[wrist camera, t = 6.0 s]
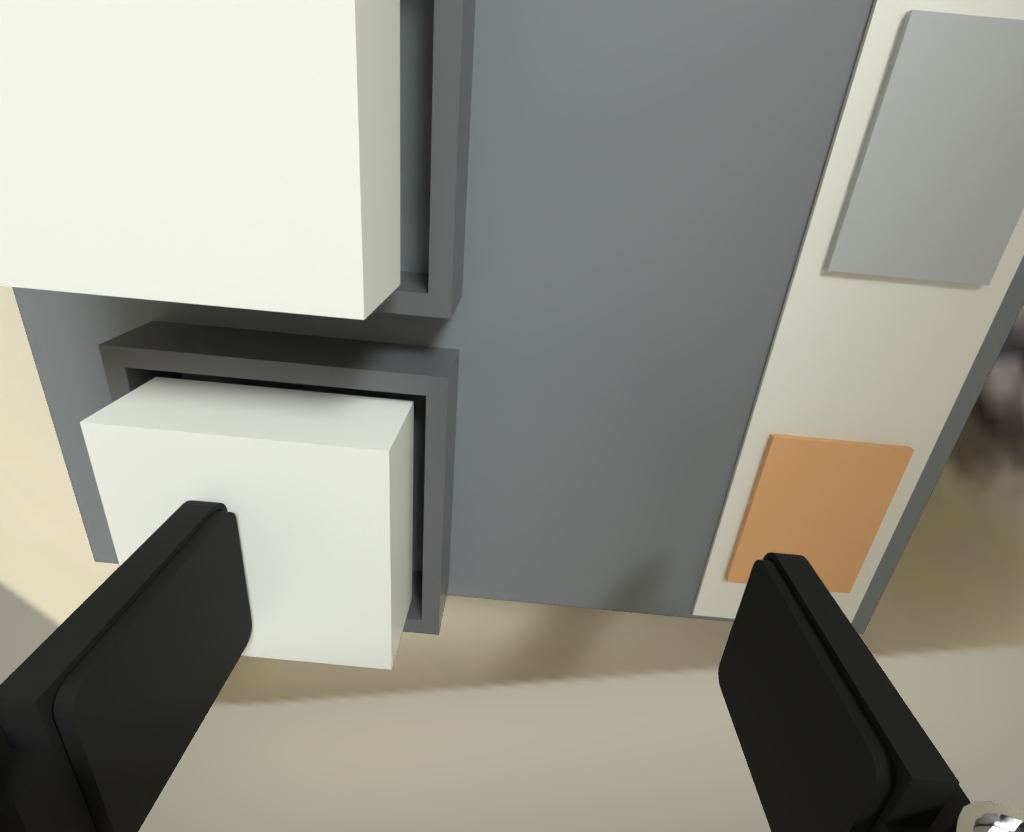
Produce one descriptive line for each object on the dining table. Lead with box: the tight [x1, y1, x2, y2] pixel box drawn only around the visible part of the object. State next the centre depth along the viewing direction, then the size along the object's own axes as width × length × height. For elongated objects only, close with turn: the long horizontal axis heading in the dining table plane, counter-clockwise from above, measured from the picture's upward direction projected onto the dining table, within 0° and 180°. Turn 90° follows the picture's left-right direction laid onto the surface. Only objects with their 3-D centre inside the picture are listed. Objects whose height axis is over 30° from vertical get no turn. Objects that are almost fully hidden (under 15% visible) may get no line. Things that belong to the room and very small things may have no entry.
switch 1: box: [0, 0, 400, 320], centre depth 7 cm, size 5×5×2 cm
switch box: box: [12, 0, 1024, 635], centre depth 10 cm, size 20×22×5 cm
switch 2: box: [80, 377, 414, 670], centre depth 11 cm, size 5×5×2 cm
